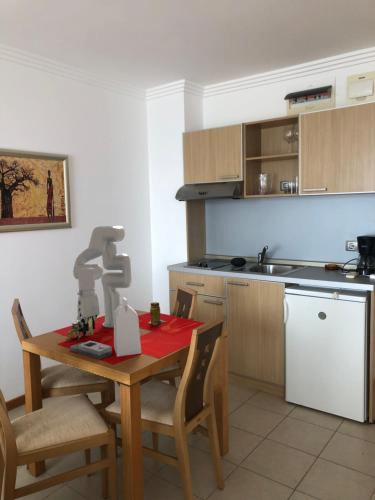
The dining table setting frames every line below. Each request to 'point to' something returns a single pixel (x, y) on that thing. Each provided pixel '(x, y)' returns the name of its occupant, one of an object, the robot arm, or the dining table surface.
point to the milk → (126, 330)
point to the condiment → (155, 314)
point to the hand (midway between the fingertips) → (89, 329)
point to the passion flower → (79, 329)
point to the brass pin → (90, 326)
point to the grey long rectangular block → (92, 349)
